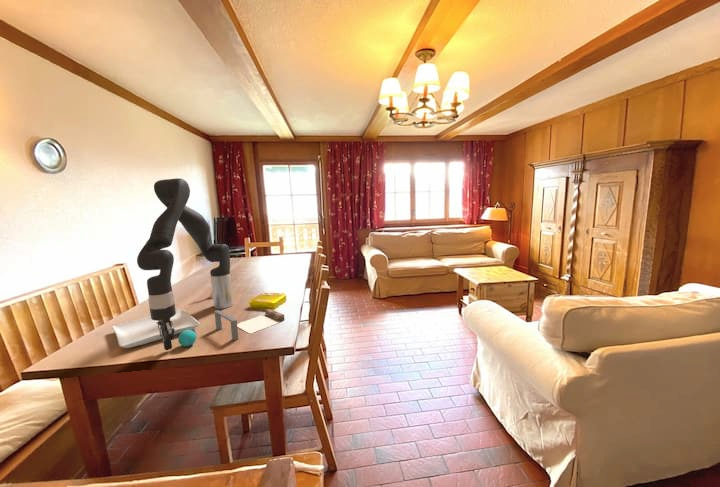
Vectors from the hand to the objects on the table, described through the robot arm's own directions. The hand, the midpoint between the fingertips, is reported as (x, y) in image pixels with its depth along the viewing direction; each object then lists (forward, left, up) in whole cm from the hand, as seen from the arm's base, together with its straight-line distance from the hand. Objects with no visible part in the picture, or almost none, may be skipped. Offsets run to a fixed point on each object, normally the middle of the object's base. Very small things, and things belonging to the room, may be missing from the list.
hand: (168, 348), depth 107 cm
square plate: (-24, +2, -2) cm, 24 cm away
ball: (+1, +6, +2) cm, 7 cm away
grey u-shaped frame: (+3, +20, -1) cm, 21 cm away
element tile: (-15, +51, -2) cm, 53 cm away
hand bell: (-52, +39, -1) cm, 65 cm away
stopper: (+3, +43, -1) cm, 43 cm away
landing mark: (+4, +33, -1) cm, 34 cm away
